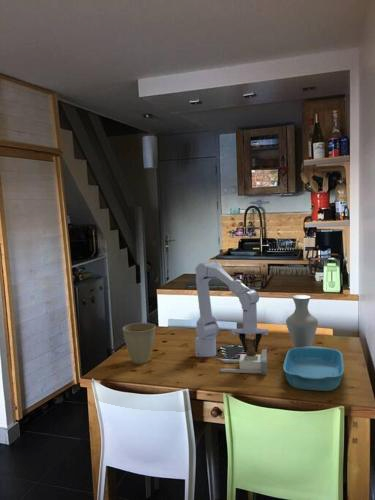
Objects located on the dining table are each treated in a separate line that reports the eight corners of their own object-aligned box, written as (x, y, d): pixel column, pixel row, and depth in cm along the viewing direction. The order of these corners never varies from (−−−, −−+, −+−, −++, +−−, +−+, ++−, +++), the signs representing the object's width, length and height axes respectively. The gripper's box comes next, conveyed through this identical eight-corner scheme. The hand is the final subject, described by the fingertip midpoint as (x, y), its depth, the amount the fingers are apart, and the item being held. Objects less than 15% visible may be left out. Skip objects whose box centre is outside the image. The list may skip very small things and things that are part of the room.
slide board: (217, 376, 178) (217, 371, 178) (221, 362, 193) (221, 357, 193) (267, 377, 174) (267, 372, 174) (267, 363, 190) (267, 358, 189)
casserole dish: (288, 358, 194) (288, 343, 193) (342, 362, 187) (341, 346, 187) (280, 394, 159) (280, 375, 159) (345, 399, 153) (345, 380, 152)
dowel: (246, 356, 181) (245, 339, 180) (246, 353, 185) (245, 337, 184) (255, 356, 180) (255, 340, 180) (255, 353, 184) (255, 337, 184)
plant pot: (147, 368, 190) (144, 333, 188) (118, 364, 196) (116, 330, 194) (163, 357, 203) (161, 323, 201) (135, 353, 209) (133, 321, 208)
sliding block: (239, 371, 179) (239, 361, 179) (241, 363, 188) (240, 354, 188) (261, 371, 178) (261, 362, 177) (262, 363, 187) (261, 354, 186)
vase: (315, 343, 213) (314, 293, 210) (321, 353, 198) (320, 299, 196) (284, 343, 214) (283, 293, 211) (288, 353, 200) (287, 300, 197)
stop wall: (261, 375, 175) (261, 361, 174) (262, 361, 189) (261, 349, 189) (266, 375, 174) (266, 361, 174) (267, 361, 189) (266, 349, 189)
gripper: (231, 321, 178) (232, 354, 180) (267, 322, 176) (268, 354, 177) (233, 317, 185) (234, 348, 187) (267, 317, 182) (268, 349, 184)
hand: (250, 351), depth 182 cm, fingers closed on dowel, 4 cm apart
